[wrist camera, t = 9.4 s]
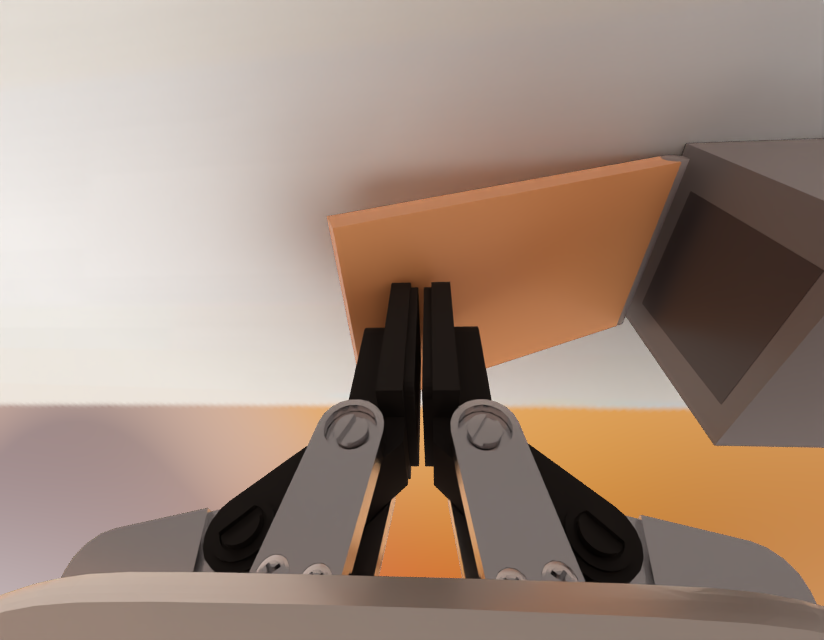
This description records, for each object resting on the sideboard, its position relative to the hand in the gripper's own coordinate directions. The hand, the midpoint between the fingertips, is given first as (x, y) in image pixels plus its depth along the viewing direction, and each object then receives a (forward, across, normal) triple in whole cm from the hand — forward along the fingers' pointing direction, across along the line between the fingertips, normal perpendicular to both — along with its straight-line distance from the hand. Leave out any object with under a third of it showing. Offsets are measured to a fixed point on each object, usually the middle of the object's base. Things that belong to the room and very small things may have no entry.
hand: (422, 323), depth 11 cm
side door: (+4, -8, 0) cm, 9 cm away
